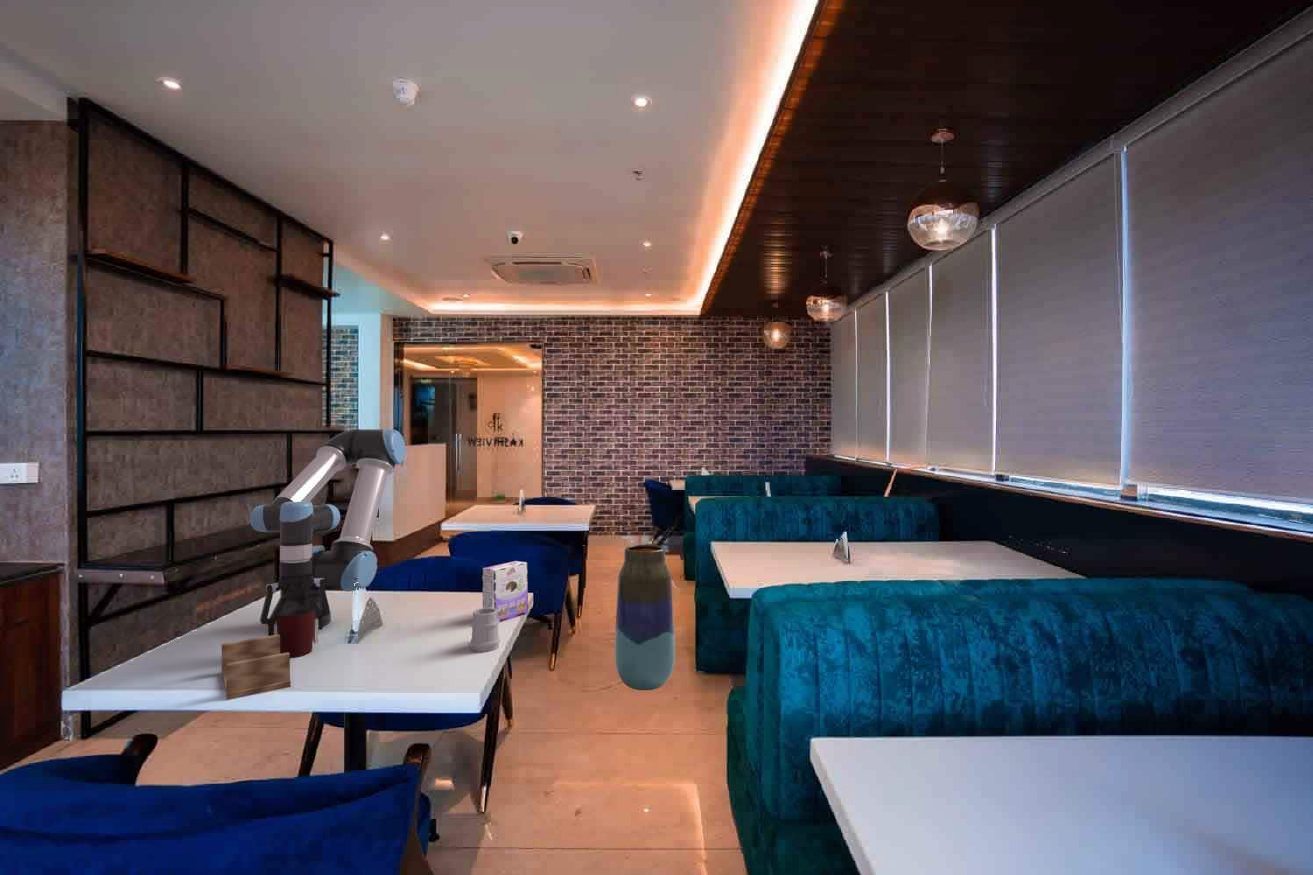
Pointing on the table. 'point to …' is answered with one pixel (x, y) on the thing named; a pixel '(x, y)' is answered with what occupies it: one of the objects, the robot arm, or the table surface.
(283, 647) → the mug
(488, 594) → the candy box
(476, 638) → the mug
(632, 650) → the vase
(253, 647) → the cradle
